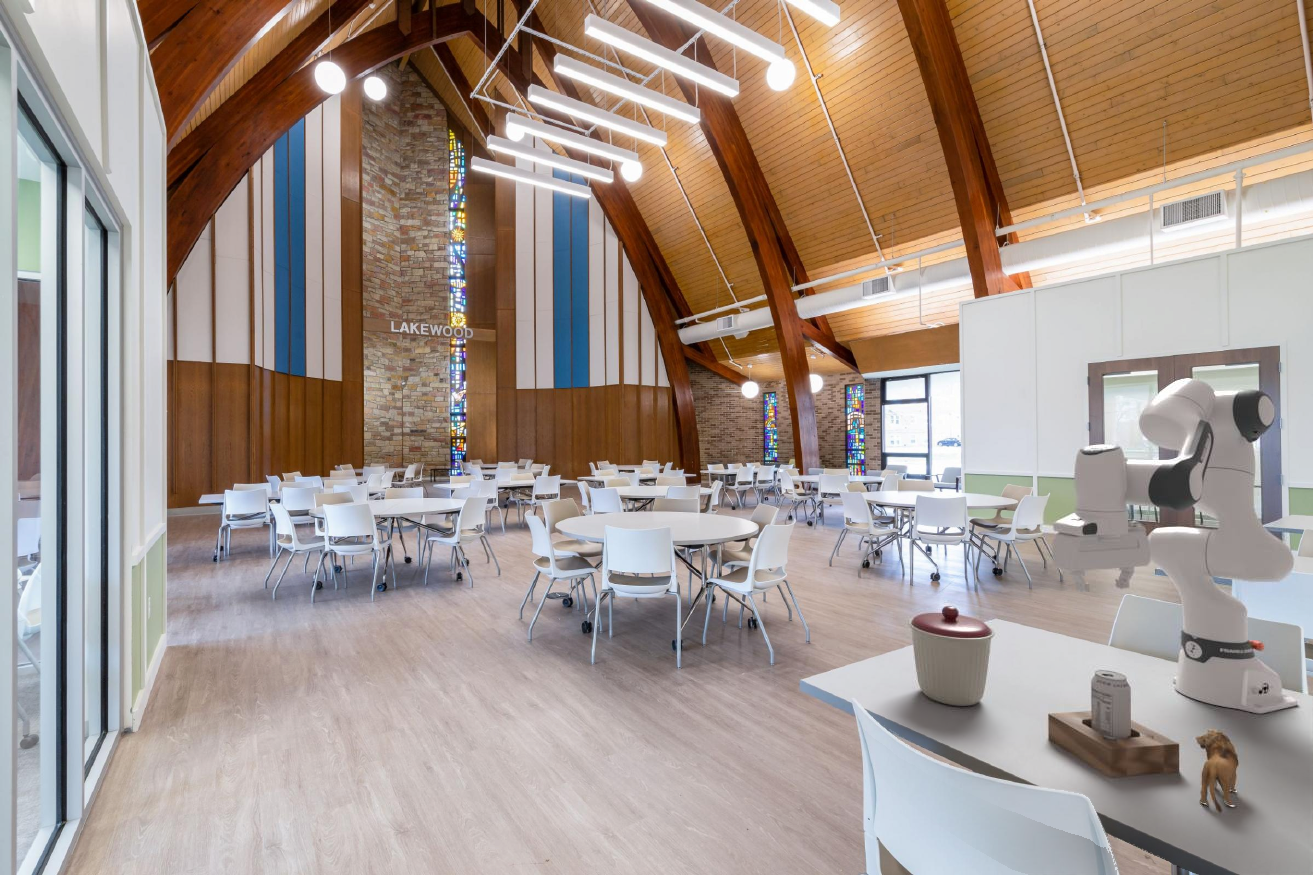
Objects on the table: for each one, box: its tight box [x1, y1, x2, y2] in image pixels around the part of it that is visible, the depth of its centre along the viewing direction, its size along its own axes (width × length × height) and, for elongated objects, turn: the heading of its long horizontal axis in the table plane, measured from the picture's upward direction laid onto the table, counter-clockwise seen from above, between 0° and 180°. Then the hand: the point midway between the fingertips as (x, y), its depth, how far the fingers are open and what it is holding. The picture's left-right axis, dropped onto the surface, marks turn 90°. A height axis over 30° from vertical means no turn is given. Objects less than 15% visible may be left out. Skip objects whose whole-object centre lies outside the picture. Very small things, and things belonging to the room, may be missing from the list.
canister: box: [907, 605, 996, 707], centre depth 140 cm, size 18×18×21 cm
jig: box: [1047, 710, 1180, 778], centre depth 114 cm, size 14×14×5 cm
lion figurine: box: [1195, 728, 1239, 814], centre depth 101 cm, size 15×5×9 cm, turn 140°
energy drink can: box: [1090, 669, 1132, 739], centre depth 114 cm, size 6×6×15 cm
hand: (1102, 589), depth 124 cm, fingers open, 8 cm apart
